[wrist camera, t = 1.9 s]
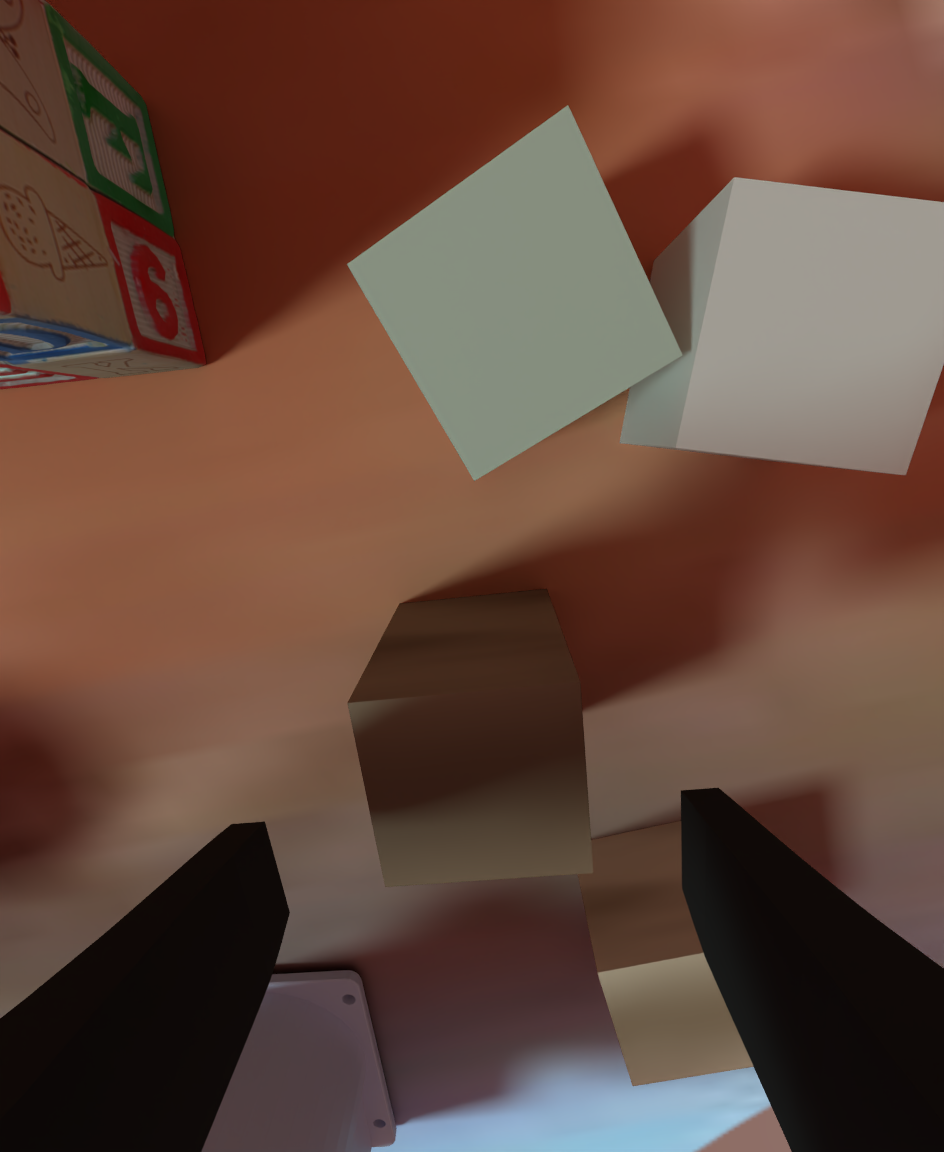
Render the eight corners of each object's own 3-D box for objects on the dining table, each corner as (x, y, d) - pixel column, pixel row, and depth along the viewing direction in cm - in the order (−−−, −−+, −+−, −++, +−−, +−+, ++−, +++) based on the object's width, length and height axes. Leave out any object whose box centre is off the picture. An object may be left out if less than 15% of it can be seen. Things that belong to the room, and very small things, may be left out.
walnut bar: (557, 719, 17) (593, 873, 11) (420, 731, 17) (385, 886, 11) (546, 588, 15) (580, 682, 10) (399, 603, 16) (347, 702, 10)
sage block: (622, 378, 14) (682, 355, 10) (478, 465, 15) (474, 481, 10) (541, 214, 13) (568, 104, 9) (392, 317, 14) (346, 264, 9)
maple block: (722, 914, 19) (792, 1060, 14) (600, 937, 19) (632, 1086, 15) (700, 814, 18) (769, 940, 13) (571, 842, 18) (597, 972, 14)
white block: (779, 461, 14) (905, 475, 10) (618, 443, 14) (675, 448, 10) (828, 282, 13) (997, 208, 9) (653, 261, 13) (734, 177, 9)
